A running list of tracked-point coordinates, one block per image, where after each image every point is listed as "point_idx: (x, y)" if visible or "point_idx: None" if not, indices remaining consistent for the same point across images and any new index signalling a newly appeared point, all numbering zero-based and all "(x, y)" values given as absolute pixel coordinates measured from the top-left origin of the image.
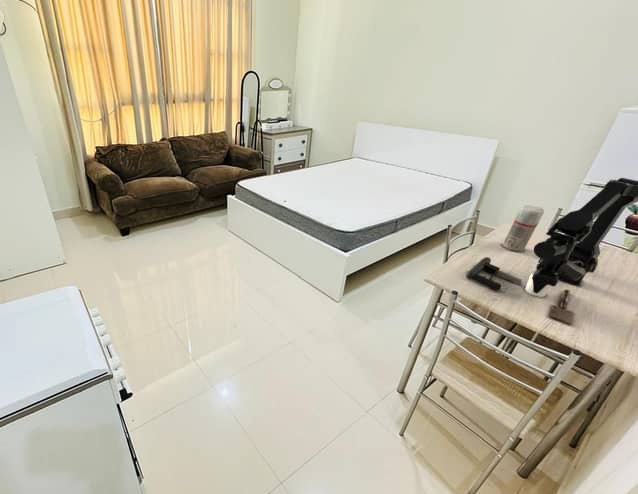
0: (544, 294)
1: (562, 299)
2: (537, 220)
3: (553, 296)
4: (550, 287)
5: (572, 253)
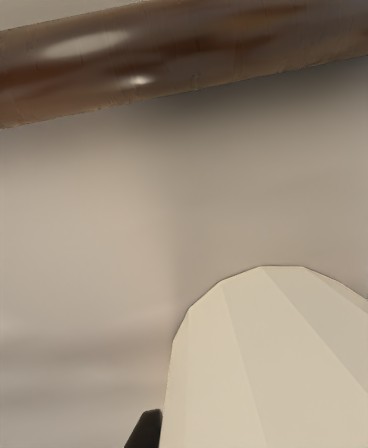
0: (335, 285)
1: (285, 63)
2: None
3: (176, 192)
4: None
5: None
